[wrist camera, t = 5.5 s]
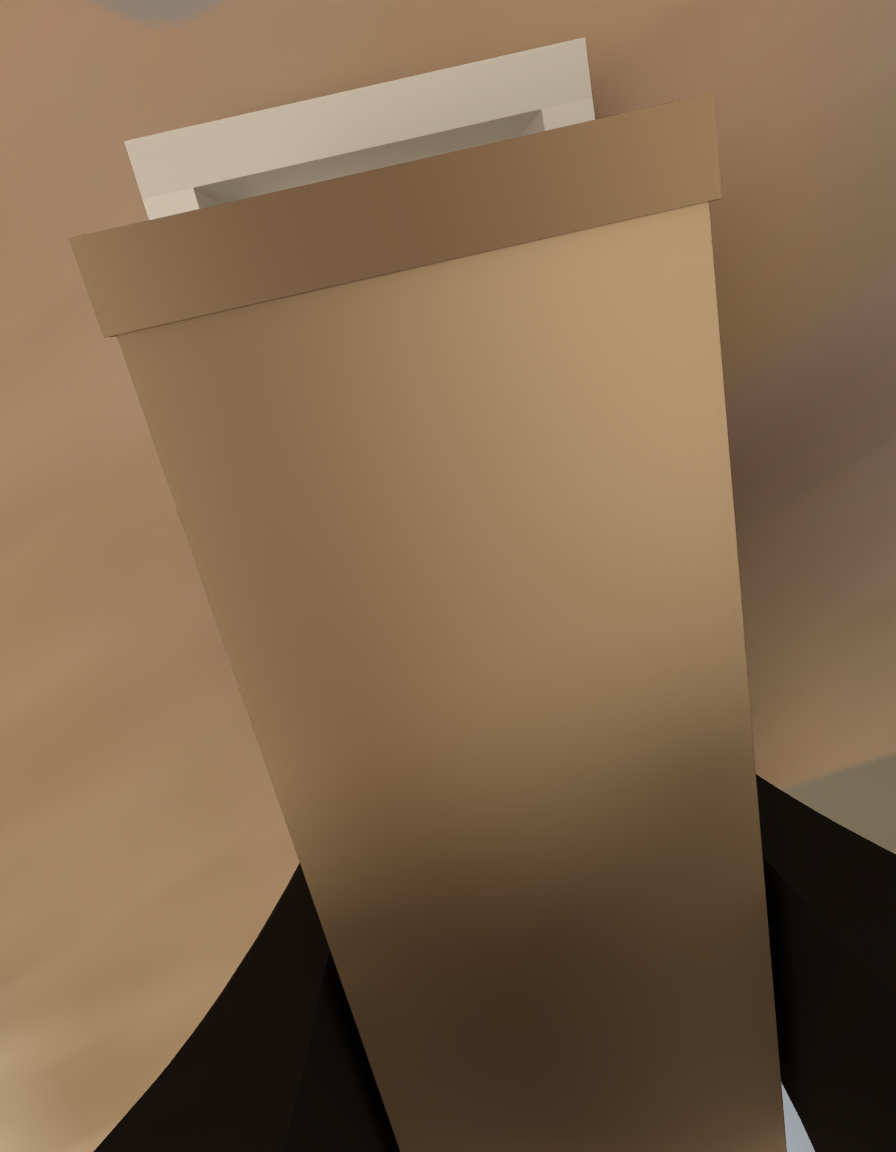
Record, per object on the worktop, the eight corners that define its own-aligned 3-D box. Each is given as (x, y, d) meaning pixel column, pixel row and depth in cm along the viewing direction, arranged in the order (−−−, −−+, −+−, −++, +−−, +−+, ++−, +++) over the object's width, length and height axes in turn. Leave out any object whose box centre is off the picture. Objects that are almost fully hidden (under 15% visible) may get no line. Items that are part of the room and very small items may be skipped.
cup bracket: (535, 103, 15) (584, 37, 11) (578, 393, 17) (632, 418, 13) (189, 182, 15) (124, 141, 11) (272, 462, 17) (240, 506, 13)
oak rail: (548, 200, 9) (713, 94, 5) (680, 1084, 15) (817, 1449, 10) (228, 272, 9) (68, 236, 5) (477, 1130, 15) (520, 1517, 10)
